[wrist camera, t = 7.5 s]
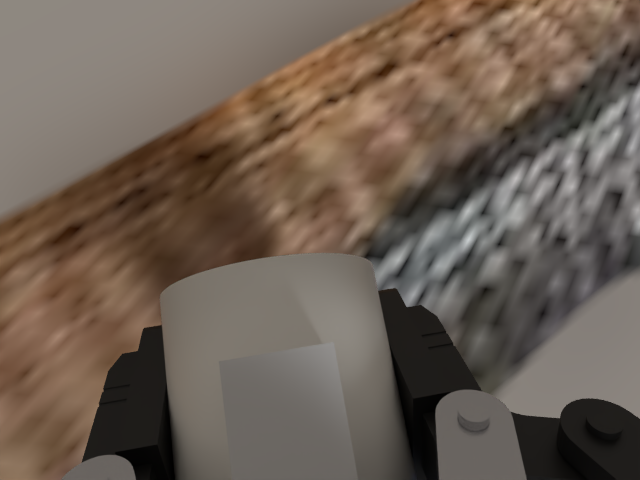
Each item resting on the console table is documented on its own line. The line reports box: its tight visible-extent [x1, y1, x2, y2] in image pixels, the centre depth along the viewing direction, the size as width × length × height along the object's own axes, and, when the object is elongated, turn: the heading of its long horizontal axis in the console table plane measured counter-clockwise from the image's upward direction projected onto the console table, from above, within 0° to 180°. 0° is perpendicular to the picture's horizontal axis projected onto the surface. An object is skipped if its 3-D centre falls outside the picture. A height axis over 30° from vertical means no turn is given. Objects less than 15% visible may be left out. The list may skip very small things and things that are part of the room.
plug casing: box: [160, 253, 417, 480], centre depth 11 cm, size 4×6×9 cm
